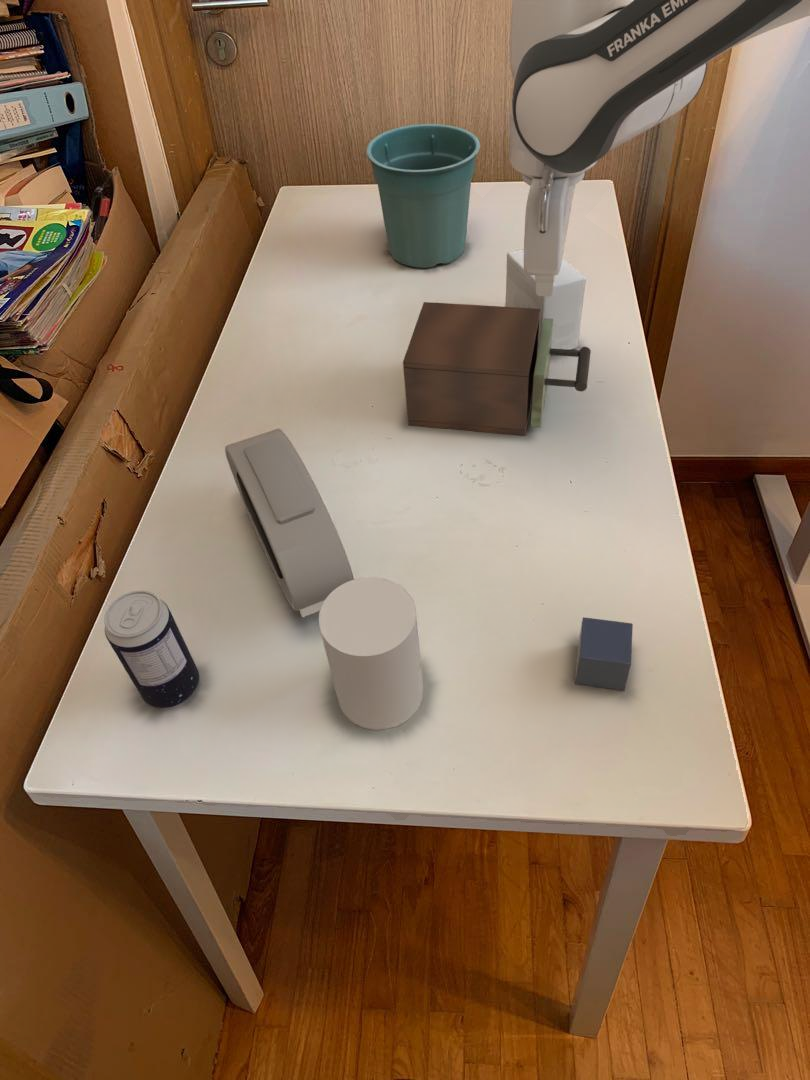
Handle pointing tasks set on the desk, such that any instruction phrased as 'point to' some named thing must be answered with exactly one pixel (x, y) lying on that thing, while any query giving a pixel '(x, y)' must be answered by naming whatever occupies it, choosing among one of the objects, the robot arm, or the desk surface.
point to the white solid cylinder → (373, 651)
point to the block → (604, 654)
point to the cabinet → (472, 367)
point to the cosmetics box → (549, 299)
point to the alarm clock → (289, 519)
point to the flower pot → (424, 190)
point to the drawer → (544, 366)
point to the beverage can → (151, 648)
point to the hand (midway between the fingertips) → (549, 270)
